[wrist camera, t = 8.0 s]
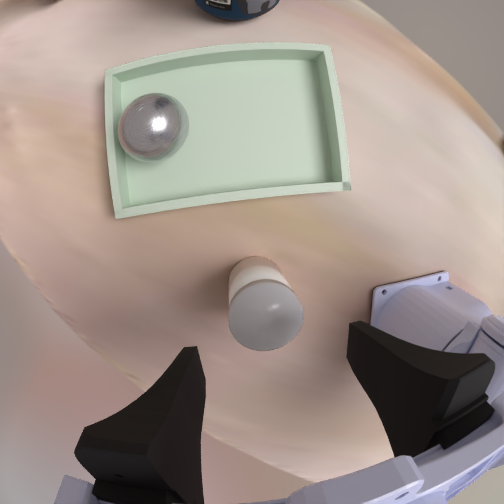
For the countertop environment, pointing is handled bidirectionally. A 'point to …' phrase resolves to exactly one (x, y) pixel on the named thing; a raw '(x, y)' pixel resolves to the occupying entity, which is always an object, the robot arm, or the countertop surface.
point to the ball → (153, 127)
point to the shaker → (262, 305)
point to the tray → (232, 126)
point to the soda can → (236, 8)
